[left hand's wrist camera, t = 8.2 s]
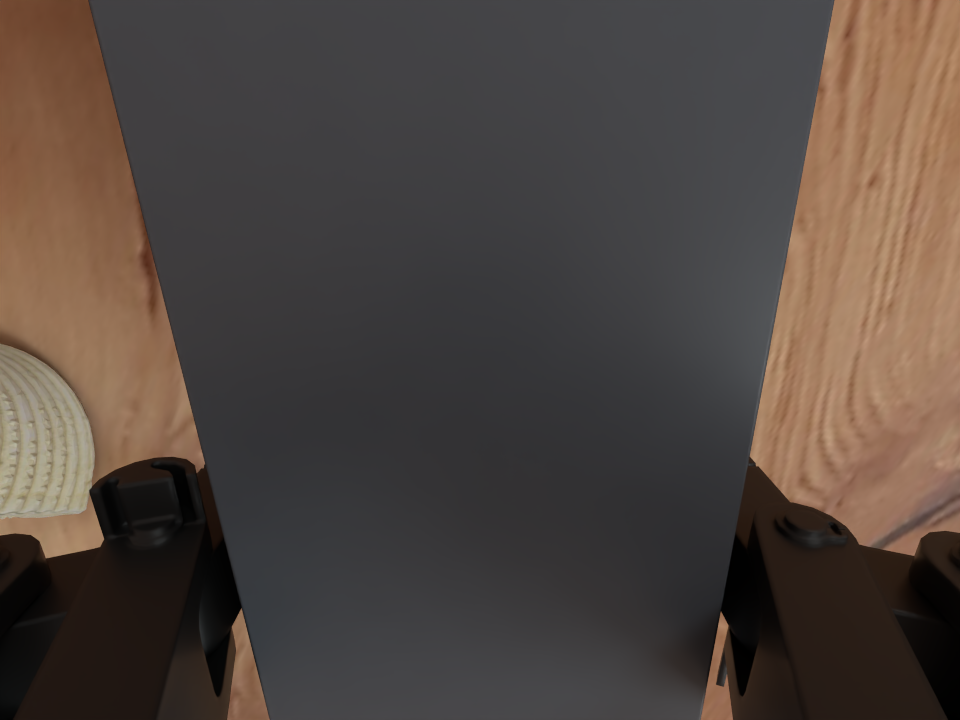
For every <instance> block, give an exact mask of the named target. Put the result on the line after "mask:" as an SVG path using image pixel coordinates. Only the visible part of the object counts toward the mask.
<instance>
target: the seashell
mask: <svg viewBox="0 0 960 720" xmlns="http://www.w3.org/2000/svg"><path fill="white" fill-rule="evenodd" d="M94 462H95V452H94V444H93V438H92V432H91V427H90V423H89V420H88V418H87V416H86V413H85V411H84V409H83V407H82V405H81V403H80V401H79V400H78V398H77V396H76V394H75V393H74V392H73V391H72V389H71V388H70V387H69V386H68V385H67V383H66V382H65V381H64V380H63V379H62V378H61V377H60V376H59V375H58V374H57V373H56V372H55V371H54V370H53V369H52V368H50V367H49V366H48V365H46V364H45V363H43V362H42V361H40V360H38V359H37V358H35V357H34V356H32V355H30V354H28V353H26V352H24V351H21V350H19V349H16V348H14V347H12V346H8V345H4V344H0V519H4V518H6V517H8V518H10V519H11V518H13V517H20V518H44V517H52V516H58V515H67V514H80V513H81V512H83V511H84V510H86V507H87V503H88V499H89V490H90V489H91V488H92V477H93V469H94V467H95V466H94Z"/></svg>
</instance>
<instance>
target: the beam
mask: <svg viewBox="0 0 960 720" xmlns="http://www.w3.org/2000/svg"><path fill="white" fill-rule="evenodd" d="M88 1H89V5H90V9H91V13H92V17H93V21H94V25H95V29H96V33H97V36H98V40H99V44H100V48H101V52H102V56H103V60H104V64H105V68H106V72H107V76H108V80H109V84H110V88H111V92H112V96H113V100H114V104H115V108H116V112H117V116H118V120H119V124H120V128H121V132H122V136H123V140H124V143H125V147H126V151H127V155H128V159H129V163H130V167H131V171H132V175H133V179H134V183H135V187H136V191H137V195H138V199H139V203H140V207H141V211H142V215H143V219H144V223H145V227H146V231H147V235H148V239H149V243H150V246H151V250H152V254H153V258H154V262H155V266H156V270H157V274H158V278H159V282H160V286H161V290H162V294H163V298H164V302H165V306H166V310H167V314H168V318H169V322H170V326H171V330H172V334H173V338H174V342H175V346H176V350H177V353H178V357H179V361H180V365H181V369H182V373H183V377H184V381H185V385H186V389H187V393H188V397H189V401H190V405H191V409H192V413H193V417H194V421H195V425H196V429H197V433H198V437H199V441H200V445H201V449H202V453H203V456H204V460H205V464H206V468H207V472H208V476H209V480H210V484H211V488H212V492H213V496H214V500H215V504H216V508H217V512H218V516H219V520H220V524H221V528H222V532H223V536H224V540H225V544H226V548H227V552H228V556H229V560H230V563H231V567H232V571H233V575H234V579H235V583H236V587H237V591H238V595H239V599H240V603H241V607H242V611H243V615H244V619H245V623H246V627H247V631H248V635H249V639H250V643H251V647H252V651H253V655H254V659H255V663H256V667H257V670H258V674H259V678H260V682H261V686H262V690H263V694H264V698H265V702H266V706H267V710H268V714H269V718H270V720H701V714H702V709H703V704H704V698H705V693H706V687H707V682H708V677H709V671H710V666H711V661H712V655H713V650H714V644H715V639H716V634H717V628H718V623H719V618H720V612H721V607H722V601H723V596H724V591H725V585H726V580H727V575H728V569H729V564H730V558H731V553H732V548H733V542H734V537H735V532H736V526H737V521H738V515H739V510H740V505H741V499H742V494H743V489H744V483H745V478H746V472H747V467H748V462H749V456H750V451H751V446H752V440H753V435H754V429H755V424H756V419H757V413H758V408H759V403H760V397H761V392H762V386H763V381H764V376H765V370H766V365H767V360H768V354H769V349H770V343H771V338H772V333H773V327H774V322H775V317H776V311H777V306H778V300H779V295H780V290H781V284H782V279H783V274H784V268H785V263H786V257H787V252H788V247H789V241H790V236H791V231H792V225H793V220H794V214H795V209H796V204H797V198H798V193H799V188H800V182H801V177H802V171H803V166H804V161H805V155H806V150H807V145H808V139H809V134H810V128H811V123H812V118H813V112H814V107H815V102H816V96H817V91H818V85H819V80H820V75H821V69H822V64H823V59H824V53H825V48H826V42H827V37H828V32H829V26H830V21H831V16H832V10H833V5H834V0H88Z"/></svg>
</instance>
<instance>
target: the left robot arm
mask: <svg viewBox="0 0 960 720" xmlns="http://www.w3.org/2000/svg"><path fill="white" fill-rule="evenodd" d="M89 493H90V496H91V499H92V502H93V505H94V508H95V511H96V515H97V518H98V521H99V524H100V527H101V530H102V533H103V536H104V541H103V543H102V545H101V547H99V548H95V549H91V550H86V551H81V552H76V553H71V554H66V555H61V556H56V557H51V558H45V555H44V552H43V550H42V547H41V544H40V542H39V541H38V540H37V539H36V538H34V537H33V536H31V535H25V534H9V535H2V536H0V720H227V716H228V708H229V700H230V692H231V685H232V677H233V669H234V661H235V654H236V647H235V640H234V635H233V631H232V625H233V623H234V621H235V619H236V617H237V615H238V614H239V612H240V610H241V608H242V607H241V603H240V599H239V595H238V591H237V587H236V583H235V579H234V575H233V571H232V567H231V563H230V560H229V556H228V552H227V548H226V544H225V540H224V536H223V532H222V528H221V524H220V520H219V516H218V512H217V508H216V504H215V500H214V496H213V492H212V488H211V484H210V480H209V476H208V472H207V468H206V464H205V465H204V468H201V470H200V471H199V472H198V473H196V469H195V465H194V464H192V463H191V462H190V461H188V460H187V459H182V458H176V457H161V458H152V459H148V460H143V461H139V462H134V463H132V464H129V465H127V466H124V467H122V468H119V469H116V470H114V471H113V472H111V473H109V474H108V475H106V476H104V477H103V478H101V479H99V480H98V481H97V482H96V483H95V484H94V485H93V487H92V488H91V489H90V490H89ZM721 612H722V614H723V616H724V618H725V619H726V621H727V623H728V625H729V626H728V631H727V635H726V639H725V644H724V648H723V653H722V657H721V661H720V666H719V670H718V675H717V682H716V685H719V686H723V687H724V683H725V679H726V675H727V676H728V683H729V691H730V699H731V707H732V714H733V720H960V533H956V532H949V531H940V532H930V533H928V534H927V535H925V536H924V537H922V538H921V540H920V542H919V545H918V548H917V550H916V553H915V556H911V555H906V554H901V553H896V552H891V551H886V550H881V549H876V548H871V547H867V546H863V545H859V544H858V542H857V540H856V538H855V537H854V536H853V534H852V533H851V532H850V531H849V529H848V528H847V527H846V526H845V525H843V524H842V523H840V522H839V521H837V520H836V519H835V518H833V517H832V516H830V515H828V514H826V513H823V512H821V511H819V510H817V509H814V508H812V507H808V506H804V505H801V504H797V503H791V502H789V500H788V499H787V498H786V497H785V496H784V495H783V494H782V493H781V491H780V490H779V489H778V488H777V487H776V486H775V485H774V484H773V482H772V481H771V480H770V479H769V478H768V477H767V476H766V474H765V473H764V472H763V471H762V470H761V469H760V468H759V467H758V466H756V463H755V462H754V461H753V460H752V459H751V458H750V456H749V462H748V467H747V472H746V478H745V483H744V489H743V494H742V499H741V505H740V510H739V515H738V521H737V526H736V532H735V537H734V542H733V548H732V553H731V558H730V564H729V569H728V575H727V580H726V585H725V591H724V596H723V601H722V607H721Z"/></svg>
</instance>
